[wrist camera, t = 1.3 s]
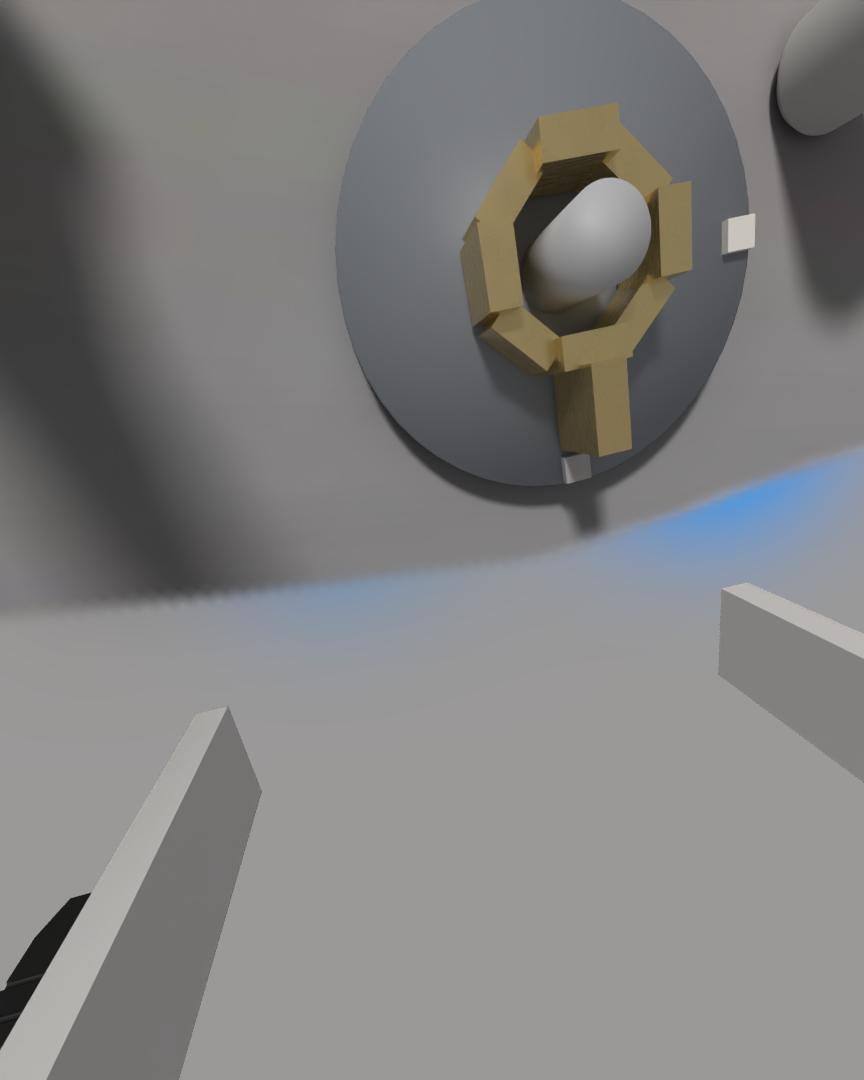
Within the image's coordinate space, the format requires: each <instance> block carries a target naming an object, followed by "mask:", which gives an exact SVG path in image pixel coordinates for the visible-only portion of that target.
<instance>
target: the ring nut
mask: <svg viewBox="0 0 864 1080" xmlns="http://www.w3.org/2000/svg"><path fill="white" fill-rule="evenodd" d="M603 178H618V179H622V180H624V181H627V182H628V183H630V184H632V185H633V186H634V187H635V188H636V189H637V190H638V191H639V192H640V193H641V195H642V196H643V198H644V200H645V202H646V204H647V207H648V210H649V213H650V218H651V237H650V243H649V247H648V250H647V253H646V255H645V257H644V259H643V261H642V263H641V264H640V266H639V267H638V269H637V270H636V271H635V272H634V273H633V274H632V275H631V276H630V277H629V278H627V279H626V280H624V281H623V282H621V283H619V284H618V290H617V292H616V293H615V295H614V296H613V298H612V299H611V301H610V302H609V304H608V305H607V307H606V308H605V310H604V311H603V313H602V314H601V316H600V317H599V319H598V320H597V322H596V323H595V325H594V326H593V328H592V330H589V331H585V332H580V333H575V334H571V335H566V336H562V337H558V336H557V335H556V334H555V333H554V332H552V331H551V330H550V329H549V328H548V327H546V326H545V325H544V324H543V323H541V322H540V321H539V320H538V319H537V318H535V317H534V316H533V315H532V314H530V313H529V312H528V311H527V310H526V309H524V308H523V307H522V306H524V304H523V296H522V288H521V280H520V272H519V264H518V257H517V249H516V241H515V233H514V225H513V222H514V221H515V219H516V217H517V216H518V214H519V212H520V211H521V209H522V207H523V206H524V204H525V202H526V201H527V200H531V199H536V198H542V197H547V196H552V195H557V194H562V193H568V192H573V191H575V192H577V193H578V194H579V193H580V192H581V191H582V190H583V189H584V188H585V187H587V186H588V185H589V184H591V183H593V182H595V181H597V180H600V179H603ZM672 179H673V178H672V177H671V176H670V175H669V174H668V173H667V171H666V170H665V169H664V168H663V167H662V166H661V165H660V164H659V163H658V162H657V161H656V160H655V159H654V158H653V157H652V155H651V154H650V153H649V152H648V151H647V150H646V149H645V148H644V147H643V146H642V145H641V144H640V143H639V142H638V141H637V139H636V138H635V137H634V136H633V135H632V134H631V133H630V132H629V131H628V130H627V129H626V128H625V127H624V126H623V125H622V123H621V122H620V116H619V102H618V103H612V104H607V105H601V106H595V107H590V108H584V109H578V110H572V111H567V112H561V113H555V114H550V115H544V116H538V118H537V120H536V122H535V123H534V125H533V127H532V129H531V130H530V132H529V134H528V135H527V137H526V139H525V141H524V142H523V141H522V140H521V139H519V141H518V142H517V144H516V146H515V148H514V149H513V151H512V153H511V154H510V156H509V158H508V160H507V161H506V163H505V165H504V167H503V168H502V170H501V172H500V173H499V175H498V177H497V179H496V180H495V182H494V184H493V186H492V187H491V189H490V191H489V192H488V194H487V196H486V198H485V199H484V201H483V203H482V205H481V206H480V208H479V210H478V211H477V213H476V215H475V217H474V218H473V220H472V222H471V224H470V226H469V228H468V229H467V231H466V233H465V235H464V237H463V238H462V240H463V241H464V242H465V244H464V246H463V247H462V249H461V251H460V256H461V262H462V268H463V275H464V281H465V287H466V293H467V299H468V305H469V311H470V317H471V323H472V327H476V326H481V325H485V326H484V327H483V329H482V331H481V332H480V334H479V335H478V337H479V338H480V339H481V340H482V341H484V342H485V343H486V344H488V345H489V346H490V347H492V348H493V349H494V350H495V351H497V352H498V353H499V354H501V355H502V356H503V357H505V358H506V359H507V360H508V361H510V362H511V363H512V364H514V365H515V366H516V367H518V368H519V369H520V370H521V371H523V372H524V373H525V374H527V375H533V374H537V378H538V377H542V376H547V375H552V378H553V387H554V396H555V405H556V413H557V422H558V431H559V440H560V449H561V450H566V451H571V452H576V453H582V454H587V455H592V456H597V457H601V456H605V455H609V454H613V453H617V452H621V451H625V450H629V449H632V438H631V422H630V405H629V389H628V372H627V358H629V357H633V350H634V348H635V347H636V345H637V344H638V342H639V341H640V339H641V338H642V336H643V335H644V334H645V332H646V331H647V329H648V328H649V326H650V325H651V323H652V322H653V320H654V319H655V317H656V316H657V315H658V313H659V312H660V310H661V309H662V307H663V306H664V304H665V303H666V301H667V300H668V298H669V297H670V295H671V294H672V293H673V291H674V290H675V287H674V286H673V285H672V284H671V283H670V282H669V281H668V280H670V279H673V278H675V277H677V276H679V275H682V274H684V273H686V272H689V271H691V270H692V207H691V181H687V182H682V183H677V184H672V185H669V183H670V182H671V180H672Z"/></svg>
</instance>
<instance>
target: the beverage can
mask: <svg viewBox="0 0 864 1080" xmlns="http://www.w3.org/2000/svg"><path fill="white" fill-rule="evenodd" d="M777 103H778V107H779V110H780V113H781V115H782V117H783V118H784V120H785V121H786V122H787V123H788V124H789V125H790V126H792V127H793V128H794V129H795V130H797V131H798V132H800V133H802V134H805V135H810V136H818V135H823V134H827V133H829V132H831V131H833V130H835V129H837V128H839V127H840V126H842V125H844V124H845V123H847V122H849V121H850V120H852V119H854V118H855V117H857V116H859V115H860V114H862V113H864V0H821V1H820V2H819V3H818V4H817V5H816V6H815V7H814V8H812V9H811V10H810V11H809V12H808V13H807V14H806V15H805V16H804V17H803V18H802V19H801V20H800V22H799V23H798V24H797V26H796V27H795V29H794V30H793V32H792V33H791V35H790V37H789V39H788V41H787V43H786V45H785V47H784V50H783V53H782V56H781V60H780V64H779V69H778V77H777Z"/></svg>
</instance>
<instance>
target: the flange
mask: <svg viewBox="0 0 864 1080" xmlns="http://www.w3.org/2000/svg"><path fill="white" fill-rule="evenodd" d="M618 102H619V116H620V122H621V123H622V125H623V126H624V127H625V128H626V129H627V130H628V131H629V132H630V133H631V134H632V135H633V136H634V137H635V138H636V139H637V141H638V142H639V143H640V144H641V145H642V146H643V147H644V148H645V149H646V150H647V151H648V152H649V153H650V154H651V155H652V157H653V158H654V159H655V160H656V161H657V162H658V163H659V164H660V165H661V166H662V167H663V168H664V169H665V170H666V171H667V173H668V174H669V175H670V176H671V177H672V178H673V179H672V180H671V182H670V183H669V185H672V184H677V183H682V182H687V181H691V207H692V270H691V271H689V272H686V273H684V274H682V275H679V276H677V277H675V278H673V279H670V280H668V281H669V282H670V283H671V284H672V285H673V286H674V287H675V290H674V291H673V293H672V294H671V295H670V297H669V298H668V300H667V301H666V303H665V304H664V306H663V307H662V309H661V310H660V312H659V313H658V315H657V316H656V317H655V319H654V320H653V322H652V323H651V325H650V326H649V328H648V329H647V331H646V332H645V334H644V335H643V336H642V338H641V339H640V341H639V342H638V344H637V345H636V347H635V348H634V350H633V357H629V358H627V372H628V389H629V405H630V422H631V438H632V449H629V450H625V451H621V452H617V453H613V454H609V455H605V456H601V457H597V456H592V455H587V454H582V453H576V452H571V451H566V450H561V449H560V440H559V431H558V422H557V413H556V405H555V396H554V387H553V378H552V375H547V376H542V377H538V378H537V374H533V375H527V374H525V373H524V372H523V371H521V370H520V369H519V368H518V367H516V366H515V365H514V364H512V363H511V362H510V361H508V360H507V359H506V358H505V357H503V356H502V355H501V354H499V353H498V352H497V351H495V350H494V349H493V348H492V347H490V346H489V345H488V344H486V343H485V342H484V341H482V340H481V339H480V338H479V337H478V335H479V334H480V332H481V331H482V329H483V327H484V326H485V325H481V326H476V327H472V323H471V317H470V311H469V305H468V299H467V293H466V287H465V281H464V275H463V268H462V262H461V256H460V251H461V249H462V247H463V246H464V244H465V242H464V241H463V240H462V238H463V237H464V235H465V233H466V231H467V229H468V228H469V226H470V224H471V222H472V220H473V218H474V217H475V215H476V213H477V211H478V210H479V208H480V206H481V205H482V203H483V201H484V199H485V198H486V196H487V194H488V192H489V191H490V189H491V187H492V186H493V184H494V182H495V180H496V179H497V177H498V175H499V173H500V172H501V170H502V168H503V167H504V165H505V163H506V161H507V160H508V158H509V156H510V154H511V153H512V151H513V149H514V148H515V146H516V144H517V142H518V141H519V139H521V140H522V141H523V142H524V141H525V139H526V137H527V135H528V134H529V132H530V130H531V129H532V127H533V125H534V123H535V122H536V120H537V118H538V116H544V115H550V114H555V113H561V112H567V111H572V110H578V109H584V108H590V107H595V106H601V105H607V104H612V103H618ZM513 225H514V233H515V241H516V249H517V257H518V264H519V272H520V280H521V288H522V296H523V304H524V306H522V307H523V308H524V309H526V310H527V311H528V312H529V313H530V314H532V315H533V316H534V317H535V318H537V319H538V320H539V321H540V322H541V323H543V324H544V325H545V326H546V327H548V328H549V329H550V330H551V331H552V332H554V333H555V334H556V335H557V336H558V337H562V336H566V335H571V334H575V333H580V332H585V331H589V330H592V328H593V326H594V325H595V323H596V322H597V320H598V319H599V317H600V316H601V314H602V313H603V311H604V310H605V308H606V307H607V305H608V304H609V302H610V301H611V299H612V298H613V296H614V295H615V293H616V292H617V290H618V284H619V283H621V282H623V281H624V280H626V279H627V278H629V277H630V276H631V275H632V274H633V273H634V272H635V271H636V270H637V269H638V267H639V266H640V264H641V263H642V261H643V259H644V257H645V255H646V253H647V250H648V247H649V243H650V237H651V218H650V213H649V210H648V207H647V204H646V202H645V200H644V198H643V196H642V195H641V193H640V192H639V191H638V190H637V189H636V188H635V187H634V186H633V185H632V184H630V183H628V182H627V181H624V180H622V179H618V178H603V179H600V180H597V181H595V182H593V183H591V184H589V185H588V186H587V187H585V188H584V189H583V190H582V191H581V192H580V193H579V194H578V193H577V192H575V191H573V192H568V193H562V194H557V195H552V196H547V197H542V198H536V199H531V200H527V201H526V202H525V204H524V206H523V207H522V209H521V211H520V212H519V214H518V216H517V217H516V219H515V221H514V222H513ZM754 242H755V213H754V214H749V204H748V195H747V187H746V180H745V173H744V168H743V164H742V160H741V156H740V152H739V148H738V144H737V140H736V137H735V134H734V132H733V129H732V126H731V124H730V121H729V119H728V116H727V113H726V111H725V108H724V106H723V105H722V103H721V101H720V99H719V97H718V95H717V93H716V91H715V90H714V88H713V86H712V84H711V82H710V80H709V79H708V78H707V76H706V75H705V73H704V72H703V71H702V69H701V68H700V66H699V65H698V64H697V62H696V61H695V59H694V58H693V57H692V55H691V54H690V53H689V52H688V51H687V50H686V49H685V48H684V47H683V46H682V45H681V44H680V43H679V42H678V41H677V40H676V39H675V37H674V36H673V35H672V34H671V33H670V32H668V31H667V30H666V29H665V28H663V27H662V26H661V25H659V24H658V23H657V22H655V21H654V20H653V19H651V18H650V17H649V16H647V15H646V14H645V13H643V12H641V11H639V10H637V9H635V8H633V7H632V6H630V5H628V4H626V3H624V2H622V1H620V0H481V1H478V2H476V3H474V4H472V5H469V6H467V7H465V8H463V9H461V10H460V11H458V12H457V13H455V14H454V15H452V16H451V17H449V18H448V19H446V20H445V21H443V22H442V23H440V24H439V25H437V26H436V27H434V28H433V29H432V30H431V31H430V32H429V33H428V34H427V35H425V36H424V37H423V38H422V39H421V40H420V41H419V42H418V43H417V44H416V45H415V46H414V47H412V48H411V49H410V50H409V51H408V52H407V54H406V55H405V56H404V57H403V59H402V60H401V61H400V62H399V64H398V65H397V66H396V67H395V69H394V70H393V71H392V72H391V73H390V75H389V76H388V77H387V78H386V80H385V82H384V83H383V85H382V87H381V88H380V90H379V92H378V93H377V95H376V97H375V98H374V100H373V102H372V103H371V105H370V107H369V108H368V110H367V112H366V115H365V117H364V119H363V122H362V124H361V126H360V128H359V131H358V133H357V135H356V138H355V140H354V142H353V145H352V149H351V152H350V156H349V159H348V162H347V166H346V169H345V173H344V176H343V180H342V186H341V192H340V199H339V205H338V211H337V224H336V246H335V252H336V266H337V280H338V288H339V293H340V298H341V304H342V309H343V314H344V319H345V323H346V326H347V330H348V333H349V336H350V339H351V342H352V346H353V349H354V352H355V354H356V356H357V359H358V361H359V363H360V365H361V368H362V370H363V372H364V374H365V376H366V379H367V380H368V382H369V384H370V385H371V387H372V388H373V390H374V392H375V393H376V395H377V397H378V398H379V400H380V402H381V403H382V404H383V405H384V407H385V408H386V409H387V411H388V412H389V413H390V414H391V416H392V417H393V418H394V419H395V421H396V422H397V423H398V424H399V425H400V426H401V427H402V428H403V429H404V430H405V431H406V432H407V433H408V434H409V435H410V436H411V437H412V438H413V439H414V440H415V441H417V442H418V443H419V444H421V445H422V446H423V447H425V448H426V449H427V450H429V451H430V452H431V453H433V454H434V455H436V456H437V457H439V458H441V459H442V460H444V461H446V462H448V463H450V464H451V465H453V466H455V467H457V468H459V469H460V470H463V471H465V472H468V473H470V474H473V475H476V476H478V477H481V478H483V479H487V480H492V481H496V482H500V483H504V484H511V485H522V486H549V485H558V484H563V483H566V484H569V483H573V482H577V481H581V480H585V479H589V478H592V476H594V475H597V474H600V473H602V472H604V471H606V470H609V469H611V468H613V467H615V466H617V465H619V464H621V463H623V462H625V461H626V460H628V459H629V458H631V457H633V456H634V455H636V454H637V453H639V452H641V451H642V450H643V449H645V448H646V447H647V446H648V445H650V444H651V443H652V442H653V441H655V440H656V439H657V438H658V437H660V436H661V435H662V434H663V433H664V432H665V431H666V430H667V429H668V428H669V427H670V426H671V425H672V424H673V423H674V422H675V421H676V420H677V419H678V418H679V417H680V416H681V414H682V413H683V412H684V411H685V409H686V408H687V407H688V406H689V405H690V403H691V402H692V401H693V400H694V398H695V397H696V396H697V394H698V393H699V391H700V389H701V388H702V386H703V385H704V383H705V382H706V380H707V379H708V377H709V376H710V374H711V372H712V370H713V368H714V366H715V364H716V362H717V360H718V358H719V356H720V355H721V353H722V351H723V349H724V346H725V343H726V341H727V338H728V336H729V333H730V331H731V328H732V326H733V323H734V320H735V316H736V313H737V309H738V306H739V302H740V298H741V295H742V290H743V284H744V279H745V273H746V267H747V258H748V249H751V248H753V247H754Z"/></svg>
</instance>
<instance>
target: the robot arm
mask: <svg viewBox="0 0 864 1080" xmlns="http://www.w3.org/2000/svg"><path fill="white" fill-rule="evenodd" d="M720 619H721V620H720V644H719V672H718V674H719V675H720V676H721V677H722V678H724V679H725V680H727V681H728V682H729V683H730V684H732V685H733V686H735V687H736V688H737V689H738V690H740V691H741V692H743V693H744V694H745V695H747V696H748V697H749V698H751V699H752V700H753V701H755V702H756V703H757V704H759V705H760V706H761V707H763V708H764V709H765V710H767V711H768V712H769V713H771V714H772V715H773V716H775V717H776V718H778V719H779V720H780V721H782V722H783V723H784V724H786V725H787V726H788V727H790V728H791V729H792V730H794V731H795V732H796V733H798V734H799V735H801V736H802V737H803V738H804V739H806V740H807V741H809V742H810V743H811V744H813V745H814V746H815V747H817V748H818V749H819V750H821V751H822V752H823V753H825V754H826V755H827V756H829V757H830V758H831V759H833V760H834V761H835V762H837V763H838V764H839V765H841V766H842V767H843V768H845V769H846V770H847V771H849V772H850V773H851V774H853V775H854V776H855V777H857V778H858V779H860V780H861V781H862V782H864V634H862V633H860V632H858V631H856V630H853V629H851V628H849V627H846V626H844V625H842V624H840V623H838V622H835V621H833V620H831V619H829V618H826V617H824V616H822V615H820V614H817V613H815V612H813V611H811V610H808V609H806V608H804V607H801V606H799V605H797V604H795V603H792V602H790V601H788V600H786V599H783V598H781V597H779V596H777V595H774V594H772V593H770V592H768V591H765V590H763V589H761V588H759V587H756V586H754V585H752V584H749V583H743V584H740V585H735V586H731V587H727V588H722V590H721V617H720ZM260 795H261V789H260V786H259V783H258V781H257V778H256V776H255V774H254V771H253V768H252V766H251V763H250V761H249V758H248V755H247V753H246V750H245V748H244V745H243V743H242V740H241V738H240V735H239V733H238V730H237V728H236V725H235V722H234V720H233V717H232V715H231V712H230V710H229V707H228V706H226V707H221V708H217V709H213V710H209V711H205V712H200V713H196V714H195V716H194V718H193V720H192V721H191V723H190V725H189V726H188V728H187V730H186V732H185V733H184V735H183V737H182V739H181V740H180V742H179V744H178V745H177V747H176V749H175V751H174V753H173V754H172V756H171V758H170V759H169V761H168V763H167V764H166V766H165V768H164V770H163V771H162V773H161V775H160V777H159V778H158V780H157V782H156V783H155V785H154V787H153V788H152V790H151V792H150V794H149V795H148V797H147V799H146V800H145V802H144V804H143V806H142V807H141V809H140V811H139V812H138V814H137V816H136V818H135V819H134V821H133V823H132V825H131V826H130V828H129V830H128V832H127V833H126V835H125V837H124V838H123V840H122V842H121V843H120V845H119V847H118V849H117V850H116V852H115V854H114V855H113V857H112V859H111V861H110V863H109V864H108V866H107V867H106V869H105V871H104V873H103V874H102V876H101V878H100V879H99V881H98V883H97V885H96V887H95V888H94V890H93V892H92V893H89V894H85V895H81V896H77V897H74V898H71V899H70V900H69V901H68V902H67V903H66V904H65V905H64V906H63V907H62V908H61V909H60V911H59V912H58V913H57V914H56V915H55V916H54V917H53V918H52V919H51V921H50V922H49V923H48V924H47V925H46V926H45V927H44V928H43V929H42V930H41V931H40V933H39V934H38V935H37V936H36V937H35V938H34V940H33V941H32V943H31V945H30V946H29V948H28V949H27V951H26V952H25V954H24V955H23V957H22V959H21V960H20V962H19V963H18V965H17V966H16V968H15V970H14V971H13V973H12V975H11V976H10V977H9V979H8V981H7V986H6V988H5V990H3V991H0V1080H179V1077H180V1074H181V1070H182V1067H183V1063H184V1060H185V1057H186V1053H187V1050H188V1046H189V1043H190V1039H191V1036H192V1032H193V1029H194V1025H195V1021H196V1018H197V1014H198V1011H199V1008H200V1004H201V1001H202V997H203V994H204V990H205V987H206V983H207V980H208V976H209V973H210V969H211V965H212V962H213V959H214V956H215V952H216V948H217V945H218V941H219V938H220V934H221V931H222V927H223V924H224V921H225V917H226V913H227V910H228V907H229V903H230V900H231V896H232V893H233V889H234V886H235V882H236V879H237V875H238V872H239V868H240V865H241V861H242V858H243V854H244V851H245V847H246V844H247V841H248V837H249V833H250V830H251V827H252V823H253V819H254V816H255V813H256V809H257V806H258V802H259V799H260Z"/></svg>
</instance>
